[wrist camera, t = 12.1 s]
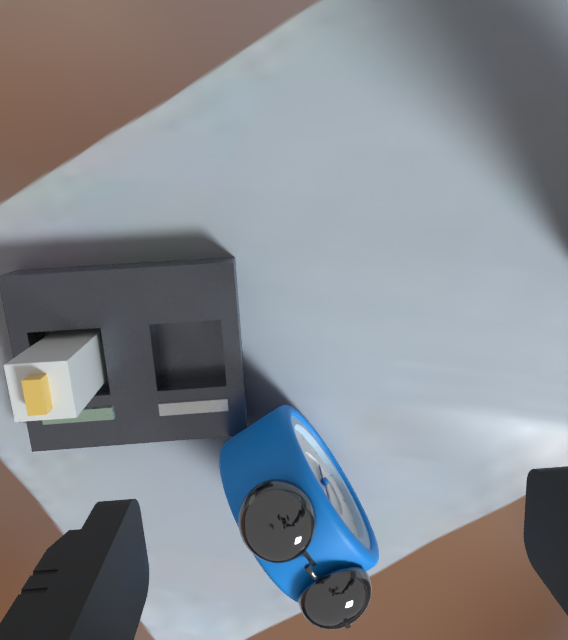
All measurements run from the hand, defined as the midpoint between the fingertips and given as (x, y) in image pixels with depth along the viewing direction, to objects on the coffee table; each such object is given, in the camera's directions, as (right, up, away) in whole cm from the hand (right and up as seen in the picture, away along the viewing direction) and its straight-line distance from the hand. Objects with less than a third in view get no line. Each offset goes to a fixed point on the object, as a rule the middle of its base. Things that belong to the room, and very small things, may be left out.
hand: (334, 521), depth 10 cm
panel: (-13, +2, +30) cm, 33 cm away
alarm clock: (0, -8, +34) cm, 35 cm away
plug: (-17, +1, +30) cm, 35 cm away
